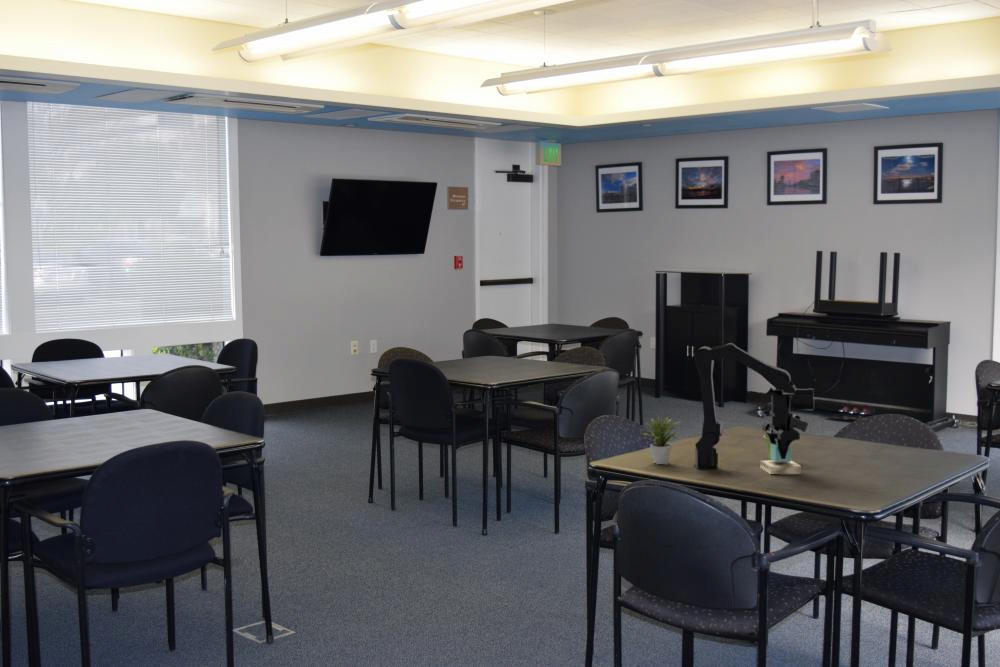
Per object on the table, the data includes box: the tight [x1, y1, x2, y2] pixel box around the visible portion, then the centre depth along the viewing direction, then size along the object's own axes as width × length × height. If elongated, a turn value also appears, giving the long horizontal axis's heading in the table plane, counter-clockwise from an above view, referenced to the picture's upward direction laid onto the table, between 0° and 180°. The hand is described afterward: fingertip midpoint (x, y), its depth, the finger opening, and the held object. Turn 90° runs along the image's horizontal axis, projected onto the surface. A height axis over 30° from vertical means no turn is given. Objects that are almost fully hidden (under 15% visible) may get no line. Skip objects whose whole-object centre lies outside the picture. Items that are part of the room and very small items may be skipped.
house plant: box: [642, 415, 683, 465], centre depth 338 cm, size 14×14×16 cm
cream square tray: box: [759, 459, 802, 475], centre depth 324 cm, size 10×10×3 cm
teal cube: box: [770, 444, 792, 462], centre depth 324 cm, size 5×5×5 cm
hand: (780, 457), depth 324 cm, fingers closed on teal cube, 5 cm apart
